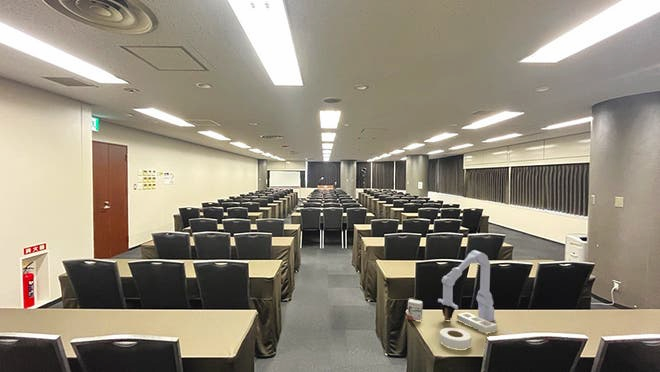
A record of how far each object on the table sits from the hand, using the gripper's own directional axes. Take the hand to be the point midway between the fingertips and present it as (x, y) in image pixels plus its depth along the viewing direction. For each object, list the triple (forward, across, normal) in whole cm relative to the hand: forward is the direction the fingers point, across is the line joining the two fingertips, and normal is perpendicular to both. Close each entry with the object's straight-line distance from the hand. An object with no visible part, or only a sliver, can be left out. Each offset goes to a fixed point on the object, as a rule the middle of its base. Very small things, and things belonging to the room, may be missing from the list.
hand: (447, 316), depth 205 cm
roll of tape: (+3, +23, -19) cm, 30 cm away
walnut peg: (+3, 0, 0) cm, 3 cm away
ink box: (+3, -11, -17) cm, 20 cm away
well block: (+3, +13, +10) cm, 17 cm away
